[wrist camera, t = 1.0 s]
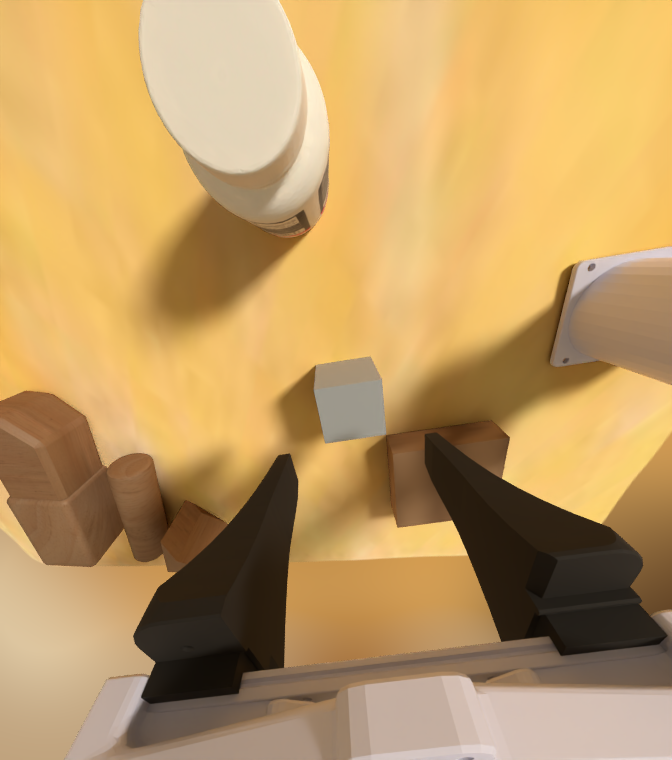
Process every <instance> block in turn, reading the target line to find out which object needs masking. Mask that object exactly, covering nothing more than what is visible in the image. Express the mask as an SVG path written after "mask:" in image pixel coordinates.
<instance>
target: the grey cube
mask: <svg viewBox="0 0 672 760" xmlns="http://www.w3.org/2000/svg"><path fill="white" fill-rule="evenodd" d="M314 394H315V398H316V403H317V407H318V412H319V417H320V421H321V426H322V430H323V435H324V440H325V443H332V442H339V441H346V440H352V439H359V438H366V437H373V436H380V435H386V425H385V413H384V400H383V387H382V379H381V377H380V375H379V373H378V371H377V369H376V367H375V365H374V362H373V360H372V358H371V357H364V358H358V359H351V360H345V361H339V362H332V363H326V364H319V365H316V371H315V381H314Z"/></svg>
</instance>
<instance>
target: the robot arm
mask: <svg viewBox="0 0 672 760" xmlns="http://www.w3.org/2000/svg"><path fill="white" fill-rule="evenodd" d="M589 265H590V268H589V269H588V266H589ZM563 360H564V361H563ZM594 361H604V362H606V363H609V364H612V365H615V366H618V367H621V368H624V369H627V370H629V371H632V372H635V373H638V374H641V375H644V376H647V377H650V378H652V379H655V380H658V381H661V382H664V383H667V384H670V385H672V246H669V247H663V248H656V249H650V250H644V251H638V252H632V253H626V254H620V255H614V256H608V257H602V258H596V259H589V260H583V261H580V262H578V263H576V264H575V266H574V267H573V269H572V273H571V277H570V281H569V285H568V290H567V294H566V298H565V302H564V306H563V310H562V314H561V318H560V322H559V326H558V330H557V334H556V339H555V343H554V347H553V351H552V355H551V359H550V364H551V365H552V366H555V367H561V366H568V365H574V364H581V363H587V362H594ZM425 466H426V468H427V471H428V474H429V476H430V478H431V481H432V483H433V485H434V487H435V489H436V491H437V492H438V494H439V496H440V498H441V500H442V502H443V504H444V506H445V507H446V509H447V511H448V513H449V515H450V517H451V519H452V520H453V522H454V524H455V526H456V528H457V530H458V532H459V535H460V537H461V539H462V542H463V544H464V546H465V549H466V551H467V553H468V556H469V558H470V561H471V563H472V566H473V568H474V571H475V573H476V576H477V578H478V581H479V583H480V586H481V588H482V591H483V593H484V596H485V599H486V601H487V603H488V606H489V609H490V612H491V614H492V617H493V620H494V623H495V625H496V628H497V631H498V634H499V636H500V639H501V642H497V643H488V644H480V645H471V646H463V647H455V648H447V649H438V650H430V651H421V652H413V653H406V654H396V655H388V656H379V657H371V658H363V659H354V660H346V661H338V662H329V663H321V664H313V665H304V666H296V667H288V668H284V648H285V647H284V646H285V617H286V595H287V577H288V564H289V552H290V544H291V538H292V532H293V526H294V520H295V513H296V507H297V500H298V478H297V475H296V472H295V469H294V465H293V462H292V459H291V455H290V454H284V455H279V456H278V457H277V458H276V460H275V462H274V463H273V465H272V466H271V468H270V470H269V471H268V473H267V474H266V476H265V477H264V479H263V480H262V482H261V483H260V485H259V486H258V488H257V489H256V491H255V492H254V493H253V495H252V496H251V497H250V499H249V500H248V501H247V503H246V504H245V505H244V507H243V508H242V509H241V510H240V512H239V513H238V514H237V515H236V516H235V517H234V519H233V520H232V521H231V522H230V523H229V524H228V525H227V526H226V527H225V528H224V530H223V531H222V532H221V533H220V534H219V535H218V536H217V537H216V538H215V539H214V540H213V541H212V542H211V543H210V544H209V545H208V546H207V547H206V548H204V549H203V550H202V551H201V552H200V553H199V554H198V555H197V556H196V557H195V558H193V559H192V560H191V561H190V562H189V563H188V564H187V565H185V566H184V567H183V568H182V569H181V570H179V571H178V572H177V573H176V574H175V575H173V576H172V577H171V578H170V579H168V580H167V581H166V582H165V583H163V584H162V585H161V586H159V587H158V589H157V591H156V593H155V594H154V596H153V598H152V600H151V602H150V604H149V605H148V608H147V609H146V611H145V613H144V615H143V617H142V619H141V621H140V623H139V625H138V627H137V629H136V631H135V633H134V636H133V637H134V641H135V644H136V645H137V646H138V648H139V649H140V650H142V651H143V652H144V653H145V654H146V655H148V656H149V657H150V658H151V659H152V660H154V661H155V662H156V664H155V665H154V668H153V670H152V672H151V675H150V676H149V675H145V674H134V675H126V676H118V677H110V678H109V679H108V680H106V682H105V683H104V685H103V687H102V689H101V691H100V693H99V695H98V697H97V699H96V700H95V702H94V705H93V706H92V708H91V710H90V712H89V714H88V716H87V717H86V719H85V721H84V723H83V725H82V727H81V729H80V731H79V733H78V734H77V736H76V738H75V740H74V742H73V744H72V746H71V748H70V750H69V751H68V753H67V755H66V757H65V759H64V760H672V610H663V611H659V612H655V613H653V614H651V615H650V616H649V615H648V613H647V612H646V611H645V610H644V609H643V608H642V607H641V606H640V605H639V604H638V603H641V602H642V600H641V598H640V597H639V596H638V595H637V594H636V593H635V591H634V590H633V589H632V588H631V587H630V586H631V584H632V583H633V581H634V580H635V579H636V577H637V576H638V574H639V573H640V571H641V569H642V567H643V561H642V557H641V556H640V554H639V553H638V552H637V551H635V550H634V549H633V548H632V547H631V546H630V545H629V544H627V542H626V541H625V540H623V538H621V537H620V536H619V535H618V534H617V533H616V532H615V531H613V530H612V529H611V528H610V527H607V526H605V525H602V524H600V523H597V522H594V521H592V520H589V519H586V518H584V517H581V516H578V515H576V514H573V513H571V512H568V511H566V510H564V509H561V508H559V507H557V506H555V505H552V504H550V503H548V502H546V501H543V500H541V499H539V498H537V497H535V496H533V495H531V494H529V493H527V492H525V491H523V490H521V489H519V488H517V487H515V486H514V485H512V484H510V483H508V482H507V481H505V480H503V479H501V478H500V477H498V476H496V475H495V474H493V473H491V472H490V471H488V470H487V469H485V468H484V467H482V466H481V465H479V464H478V463H476V462H475V461H473V460H472V459H471V458H469V457H468V456H467V455H465V454H464V453H462V452H461V451H460V450H459V449H457V448H456V447H455V446H453V445H452V444H451V443H450V442H448V441H447V440H446V439H444V438H443V437H442V436H441V435H439V434H438V433H437V432H434V433H427V434H425Z"/></svg>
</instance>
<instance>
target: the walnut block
mask: <svg viewBox="0 0 672 760" xmlns="http://www.w3.org/2000/svg"><path fill="white" fill-rule="evenodd" d="M434 432H437V433H438V434H439V435H441V436H442V437H443V438H444V439H446V440H447V441H448V442H450V443H451V444H452V445H453V446H455V447H456V448H457V449H459V450H460V451H461V452H462V453H464V454H465V455H467V456H468V457H469V458H471V459H472V460H473V461H475V462H476V463H478V464H479V465H481V466H482V467H484V468H485V469H487V470H488V471H490V472H491V473H493V474H495V475H496V476H498V477H500V478H501V479H502V475H503V470H504V465H505V460H506V455H507V449H508V444H509V439H510V437H509V436H508V435H507V434H506V433H504V432H503V431H502V430H501V429H500V428H499V427H498V426H497V425H496V424H495V423H494V422H493V421H492V420H490V421H483V422H476V423H469V424H462V425H455V426H448V427H441V428H434V429H427V430H420V431H413V432H406V433H399V434H392V435H386V439H387V453H388V466H389V480H390V493H391V506H392V509H393V513H394V517H395V520H396V524H397V527H398V528H399V527H407V526H414V525H421V524H429V523H436V522H444V521H451V520H452V519H451V517H450V515H449V513H448V511H447V509H446V507H445V506H444V504H443V502H442V500H441V498H440V496H439V494H438V492H437V491H436V489H435V487H434V485H433V483H432V481H431V478H430V476H429V474H428V471H427V468H426V466H425V434H427V433H434Z"/></svg>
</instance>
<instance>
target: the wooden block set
mask: <svg viewBox="0 0 672 760" xmlns="http://www.w3.org/2000/svg"><path fill="white" fill-rule="evenodd" d="M0 479H1V481H2V483H3V485H4V486H5V488H6V490H7V491H8V493H9V495H10V497H9V498H8V499H7V504H8V505H9V507H10V509H11V510H12V512H13V513H14V515H15V517H16V518H17V520H18V522H19V523H20V525H21V527H22V528H23V530H24V531H25V533H26V535H27V536H28V538H29V540H30V541H31V543H32V545H33V546H34V548H35V549H36V551H37V553H38V554H39V556H40V558H41V559H42V561H43V563H45V564H46V565H61V566H83V567H92V566H94V565H95V564H97V562H98V561H99V560H100V559H101V557H102V556H103V555H104V553H105V552H106V551H107V550H108V548H109V547H110V546H111V544H112V543H113V542H114V541H115V539H116V538H117V537H118V535H119V534H120V533H121V532H122V530H123V529H125V532H126V535H127V538H128V541H129V544H130V546H131V549H132V552H133V555H134V558H135V559H136V560H138V561H141V562H148V561H152V560H154V559H156V558H158V557H159V556H160V555H162V554H164V558H165V562H166V566H167V570H168V572H178V571H179V570H181V569H182V568H183V567H184V566H185V565H187V564H188V563H189V562H190V561H191V560H192V559H193V558H195V557H196V556H197V555H198V554H199V553H200V552H201V551H202V550H203V549H204V548H206V547H207V546H208V545H209V544H210V543H211V542H212V541H213V540H214V539H215V538H216V537H217V536H218V535H219V534H220V533H221V532H222V531H223V530H224V528H225V527H226V526H227V525H228V524H227V523H226V522H224V521H222V520H220V519H219V518H217V517H215V516H214V515H212V514H210V513H208V512H207V511H205V510H203V509H202V508H200V507H198V506H196V505H195V504H193V503H191V502H189V501H185V502H184V504H183V506H182V507H181V509H180V511H179V512H178V514H177V515H176V517H175V519H174V520H173V522H172V524H171V525H170V527H169V529H168V525H167V521H166V516H165V512H164V507H163V503H162V498H161V494H160V489H159V485H158V480H157V476H156V471H155V467H154V462H153V459H152V458H151V457H150V456H149V455H147V454H142V453H137V454H131V455H127V456H124V457H122V458H119V459H118V460H116V461H115V462H113V463H112V464H111V465H110V466H109V467H108V468H107V467H106V466H103V465H101V462H100V459H99V456H98V453H97V450H96V447H95V444H94V441H93V438H92V435H91V432H90V429H89V426H88V423H87V420H86V417H85V416H84V415H83V414H81V413H80V412H78V411H77V410H75V409H74V408H72V407H71V406H69V405H68V404H66V403H65V402H64V401H62V400H61V399H59V398H58V397H56V396H55V395H53V394H49V393H42V392H33V391H24V392H22V393H19V394H17V395H14V396H12V397H10V398H7V399H5V400H2V401H0Z"/></svg>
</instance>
